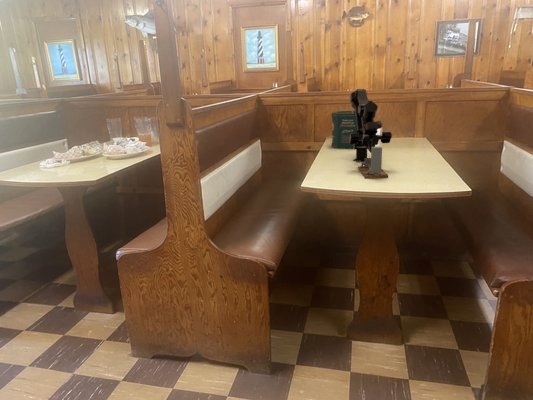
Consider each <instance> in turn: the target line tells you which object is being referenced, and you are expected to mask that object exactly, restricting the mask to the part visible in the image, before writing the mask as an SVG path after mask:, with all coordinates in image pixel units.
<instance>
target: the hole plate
mask: <svg viewBox="0 0 533 400" xmlns="http://www.w3.org/2000/svg"><path fill="white" fill-rule="evenodd" d="M357 169H358V171H359V172H360V173H361V175H362V177H363V178H364V179H389V174H388V173H387V172H386V171H385V170H384V169H383V168H382V167H381V173H369V174H368V172H367V170H371V157H367V158H365V162H361V165H359V166H357Z"/></svg>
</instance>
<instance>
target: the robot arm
mask: <svg viewBox="0 0 533 400" xmlns="http://www.w3.org/2000/svg"><path fill="white" fill-rule="evenodd" d="M349 103H350V106H351V108H352V109H353V110H355V115H356V124H357V132H356V133H351V134H350V139H349V142H350V144H353V149H352V150H356V151H355V158H354V159H353V160H352V161H355V162H361V163H364V162H365V158H368V152H369V153H370V154H371V147H376V146H377V145H378V144H379V141H380V143H381V144H389V143H390V142H391V140H392V137H393V134H392V132H391V131H382V132H381V134H378V129H382V125H383V124H382V121H381V120H377V121H375V118H376V116H377V111H378V104H376V103H375V102H373V100H369V98H368V92H367V89H365V88H357V89H355V91H352V92H351V93H350V96H349ZM356 146H357V147H356Z"/></svg>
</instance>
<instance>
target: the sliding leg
mask: <svg viewBox="0 0 533 400" xmlns="http://www.w3.org/2000/svg"><path fill="white" fill-rule="evenodd" d="M370 154H371V155H370V158H371V170H367V172H368V174H369V173H381V168H382V163H383V162H382V161H383V160H382V159H383V147H382V146H375V147H371V153H370Z"/></svg>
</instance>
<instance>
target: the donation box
mask: <svg viewBox="0 0 533 400" xmlns="http://www.w3.org/2000/svg"><path fill="white" fill-rule="evenodd" d="M356 132H357V124H356V115H355V109H353V110H338V111H333V112H331V148H333V149H339V150H342V149H344V150H354V149H353V144H350V142H349V139H350V134H351V133H356ZM356 147H357V146H356Z"/></svg>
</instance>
